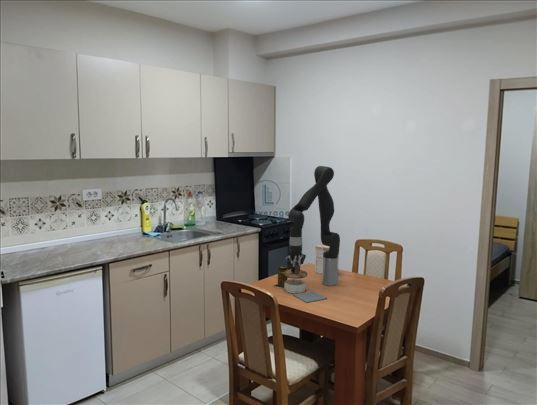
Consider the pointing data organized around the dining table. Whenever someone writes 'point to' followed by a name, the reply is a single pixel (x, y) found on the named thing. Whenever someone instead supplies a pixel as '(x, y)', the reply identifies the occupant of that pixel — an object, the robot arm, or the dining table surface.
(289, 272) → the lid
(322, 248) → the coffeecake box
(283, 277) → the condiment
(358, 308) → the dining table surface
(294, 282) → the bowl
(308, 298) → the mat
